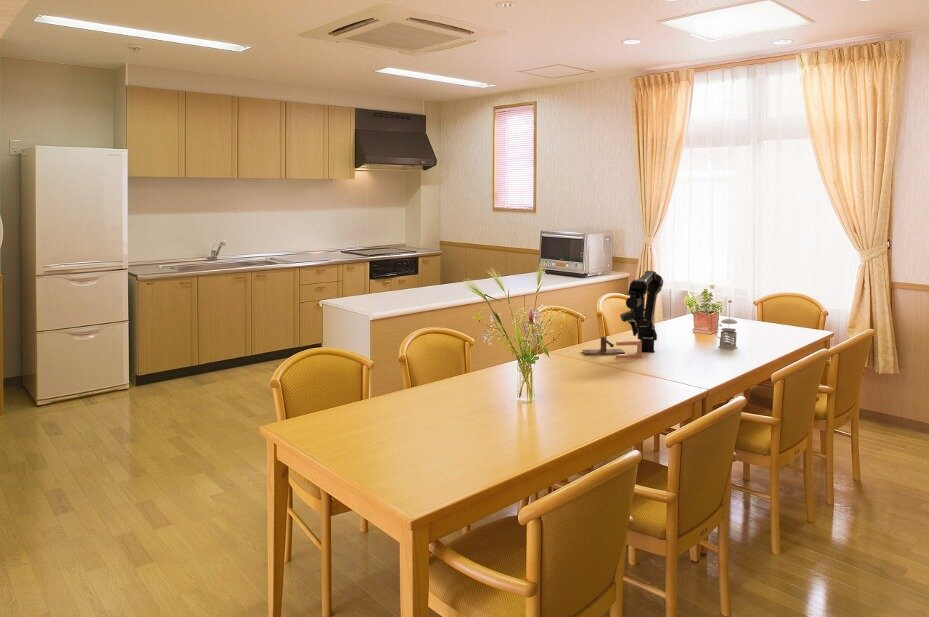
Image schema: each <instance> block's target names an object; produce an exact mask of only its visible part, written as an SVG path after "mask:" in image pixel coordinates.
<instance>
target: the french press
mask: <svg viewBox="0 0 929 617" xmlns="http://www.w3.org/2000/svg"><path fill="white" fill-rule="evenodd" d="M727 303H729V304H731V303H733V301H732V300H731V299H729V300H727ZM728 310H729V312H728V318H723V319H722V320H720V323H719V324H717V325H716V326H715V328H714V334H715V336H716V337H717V338H718V339H719V346H717V348H718V349H720V350H727V351H728V350H730V351H731V350H732V351H733V350H738V346H737V333H738V332H736V331H737V330H736V328H731V327H723V328H722V326H723V325H722V324H728V325H735V324H738V321H737V320H735V319H733V318H730V315H731V314H730V313H731V306H729V308H728ZM719 326H720V328H721V331H720V336H718V335H717V328H718V327H719Z"/></svg>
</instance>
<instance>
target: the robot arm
mask: <svg viewBox="0 0 929 617" xmlns="http://www.w3.org/2000/svg"><path fill="white" fill-rule="evenodd" d="M663 286H664V279H663V277H662V275H659V274H658V273H657V272H656V271H654V270H646V271H644V273H643V275H641V277H639V278H638V279H637V278H636V279H633V280H632V281H631V282H630V285H629V287H628V291H627V295H628V296H629V297H627V299H626V301H625V306H626V308H628V309H629V310H628V311H626V312H622V313H621V314H619V317H620V319H621V322H623V323H625V322H627V323H628V324H629V325H630V326H631V331H632V335H633V337H636V336H637V340H638V341H641V342H642V353H643V352H644V353H656V351H655V342H656V341H658V334H657V332H656V326H655V324H654V317H655V316H654V315H655V311H656V310H655V309H656V304H657V297H658V294H659V293H660V292H661V291H662V288H663ZM646 294H647V296H646ZM645 296H646V303H645Z"/></svg>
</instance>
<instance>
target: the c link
mask: <svg viewBox="0 0 929 617" xmlns="http://www.w3.org/2000/svg"><path fill="white" fill-rule="evenodd" d="M615 345H616V346H617V347H618V346H619V347H621V346H636V350H637V351H636V353H635V354H625V355H615V358H616V359H617V358H626V359H642V353H643V352H642V342H641V341H640V340H636V341H634V340H633V341H632V340H631V341H628V340H627V341H615Z"/></svg>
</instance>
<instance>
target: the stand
mask: <svg viewBox="0 0 929 617" xmlns="http://www.w3.org/2000/svg"><path fill="white" fill-rule="evenodd" d="M607 345H608V346H610V348H607ZM581 351H583V352H582V354H583V355H584V356H585V355H589V356H615V355H614V354H625V355H626V351H624V350H623V349H621V348H614V344H613V343H611V342H610V341H609V340H608V339H607V337H606V336H600V348H599V349H597V348H596V349H581Z"/></svg>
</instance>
